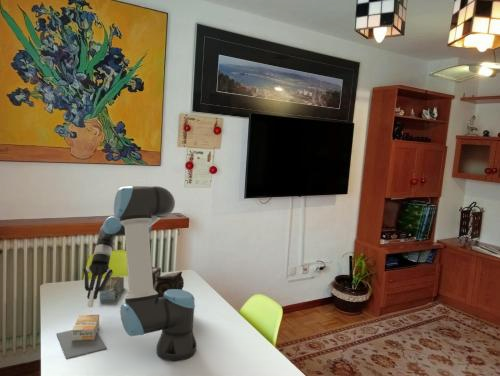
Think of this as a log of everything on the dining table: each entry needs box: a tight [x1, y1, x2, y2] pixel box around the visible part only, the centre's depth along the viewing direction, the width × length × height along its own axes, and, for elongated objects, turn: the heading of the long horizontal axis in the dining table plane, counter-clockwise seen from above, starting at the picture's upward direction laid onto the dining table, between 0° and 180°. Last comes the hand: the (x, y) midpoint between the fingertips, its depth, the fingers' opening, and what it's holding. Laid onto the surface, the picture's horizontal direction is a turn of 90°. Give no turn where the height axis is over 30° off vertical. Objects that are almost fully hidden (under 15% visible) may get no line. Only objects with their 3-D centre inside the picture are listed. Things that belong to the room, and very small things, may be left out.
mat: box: [56, 329, 108, 360], centre depth 147 cm, size 20×14×1 cm
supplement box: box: [71, 314, 100, 341], centre depth 152 cm, size 8×5×13 cm
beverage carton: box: [99, 276, 125, 303], centre depth 192 cm, size 8×19×7 cm, turn 6°
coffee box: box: [152, 266, 162, 291], centre depth 188 cm, size 9×6×16 cm
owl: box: [156, 270, 185, 298], centre depth 174 cm, size 13×13×20 cm
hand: (89, 306), depth 160 cm, fingers closed
